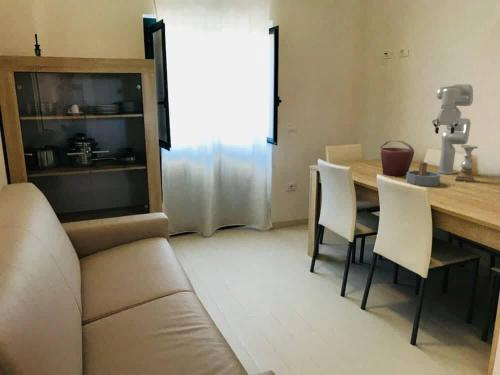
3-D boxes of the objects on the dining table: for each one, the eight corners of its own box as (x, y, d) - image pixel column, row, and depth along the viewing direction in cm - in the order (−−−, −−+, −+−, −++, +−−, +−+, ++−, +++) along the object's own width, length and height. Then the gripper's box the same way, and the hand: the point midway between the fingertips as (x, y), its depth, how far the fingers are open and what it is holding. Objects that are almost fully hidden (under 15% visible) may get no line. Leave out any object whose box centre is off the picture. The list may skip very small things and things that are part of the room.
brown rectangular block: (417, 179, 266) (419, 161, 263) (422, 179, 266) (424, 161, 263) (420, 180, 261) (422, 163, 258) (425, 181, 260) (427, 163, 257)
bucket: (371, 172, 294) (374, 139, 288) (392, 170, 304) (395, 138, 298) (397, 179, 273) (400, 143, 267) (419, 176, 283) (422, 141, 277)
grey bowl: (402, 179, 272) (403, 170, 271) (432, 180, 270) (433, 170, 269) (411, 185, 253) (412, 176, 251) (443, 186, 251) (444, 177, 249)
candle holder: (473, 179, 272) (478, 145, 266) (473, 182, 263) (478, 147, 257) (456, 178, 277) (460, 144, 272) (455, 181, 268) (459, 146, 262)
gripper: (458, 107, 261) (455, 133, 265) (431, 107, 262) (428, 132, 267) (463, 107, 254) (460, 134, 258) (435, 107, 255) (432, 133, 259)
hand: (444, 133), depth 262 cm, fingers open, 9 cm apart
